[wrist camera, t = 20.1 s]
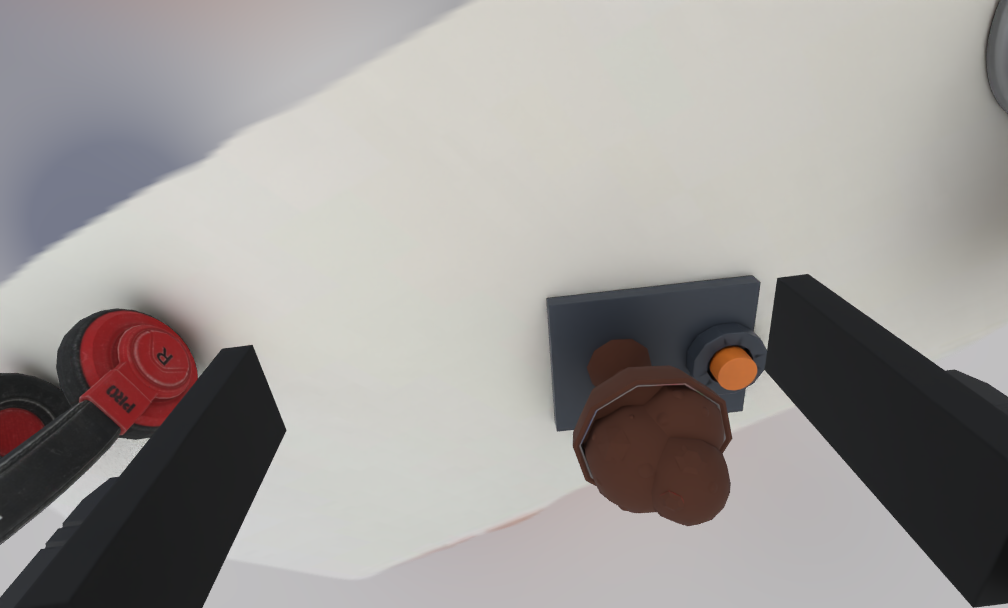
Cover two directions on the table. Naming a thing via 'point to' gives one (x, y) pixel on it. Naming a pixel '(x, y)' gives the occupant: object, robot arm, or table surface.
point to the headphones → (86, 407)
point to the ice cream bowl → (653, 437)
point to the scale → (652, 334)
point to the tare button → (733, 368)
